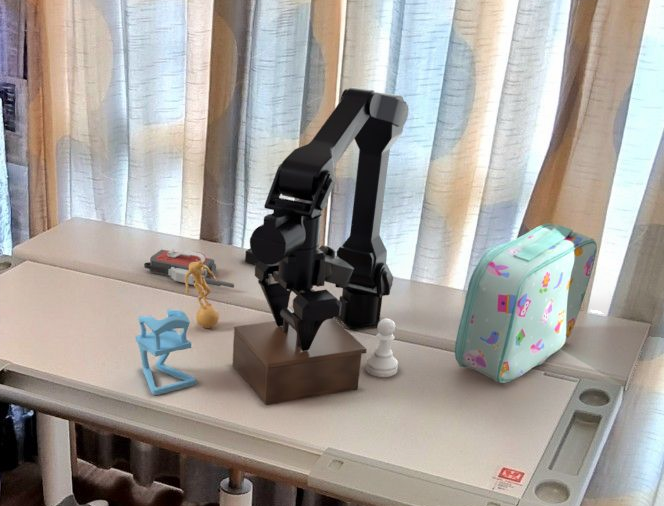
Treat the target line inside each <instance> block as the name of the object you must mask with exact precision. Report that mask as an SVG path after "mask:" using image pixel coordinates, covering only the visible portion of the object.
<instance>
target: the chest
mask: <svg viewBox="0 0 664 506" xmlns="http://www.w3.org/2000/svg"><path fill="white" fill-rule="evenodd" d="M232 345H233V346H232V367H233V369H234V370H235V371H236V373H238V375H239V376H240V377H241V378H242V380H243V381H244V382H245V383H246V384H247V385H248V386H249V387H250V389H251V390H252V391H253V392H254V393H255V395H256V396H257V397H258V398H259V399H260V401H261V402H262V403H263V405H265V406H269V405H274V404H281V403H287V402H292V401H299V400H304V399H305V400H306V399H310V398H316V397H322V396H323V397H324V396H328V395H329V396H330V395H335V394H341V393H347V392H353V391H357V390H358V389H359V379H360V373H361V362H362V355H363V354H357V355H351V356H344V357H338V358H331V359H325V360H318V361H312V362H305V363H298V364H292V365H285V366H279V367H272V368H267V367H266V366H265V365H264V364H263V362H262V361H261V360H260V359H259V358H258V357H257V356H256V355H255V354H254V353H253V351H252V350H251V349H250V348H249V347H248V346H247V345H246V344H245V343H244V341H243V340H242V339H241V338H240V337H239V336H238V335H237V334H236V333H235V332H234V331H233V344H232Z"/></svg>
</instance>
